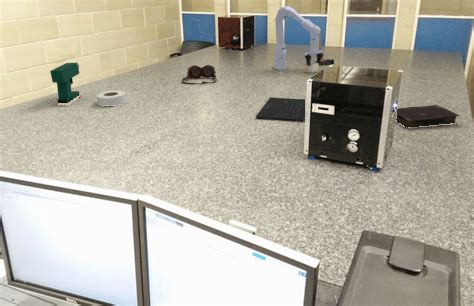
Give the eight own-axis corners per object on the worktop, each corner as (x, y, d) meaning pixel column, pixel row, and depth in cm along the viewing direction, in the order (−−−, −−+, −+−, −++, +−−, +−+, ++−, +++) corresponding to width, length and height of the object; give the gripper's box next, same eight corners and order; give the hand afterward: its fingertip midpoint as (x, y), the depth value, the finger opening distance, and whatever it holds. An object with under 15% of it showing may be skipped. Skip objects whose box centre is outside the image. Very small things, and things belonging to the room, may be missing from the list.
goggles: (183, 86, 258) (183, 71, 254) (178, 79, 279) (177, 64, 275) (220, 84, 264) (220, 69, 260) (213, 77, 285) (212, 62, 281)
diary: (386, 117, 194) (387, 107, 192) (434, 113, 197) (436, 103, 195) (407, 130, 178) (408, 120, 176) (458, 126, 181) (461, 115, 179)
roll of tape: (99, 109, 220) (97, 99, 217) (96, 101, 233) (95, 92, 231) (128, 105, 225) (127, 95, 223) (124, 98, 238) (122, 88, 236)
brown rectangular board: (295, 70, 290) (295, 64, 289) (309, 68, 295) (309, 62, 293) (308, 75, 275) (309, 69, 273) (323, 73, 279) (324, 67, 278)
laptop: (269, 100, 226) (270, 66, 218) (338, 104, 215) (340, 68, 207) (254, 119, 197) (254, 80, 189) (332, 125, 186) (335, 84, 178)
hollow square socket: (308, 71, 282) (308, 62, 279) (314, 70, 283) (314, 61, 281) (312, 72, 277) (312, 64, 275) (318, 71, 279) (318, 63, 277)
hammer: (307, 69, 301) (301, 29, 290) (307, 68, 306) (301, 28, 295) (334, 65, 296) (329, 23, 285) (334, 63, 301) (329, 22, 290)
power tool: (78, 91, 255) (72, 59, 247) (89, 91, 255) (83, 59, 247) (56, 106, 226) (48, 71, 218) (68, 106, 226) (61, 70, 218)
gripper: (308, 46, 267) (307, 67, 272) (326, 44, 272) (325, 64, 278) (302, 45, 273) (302, 65, 278) (320, 43, 278) (319, 63, 283)
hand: (313, 65), depth 278 cm, fingers open, 7 cm apart
